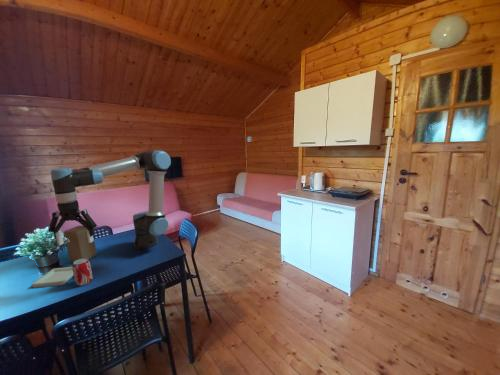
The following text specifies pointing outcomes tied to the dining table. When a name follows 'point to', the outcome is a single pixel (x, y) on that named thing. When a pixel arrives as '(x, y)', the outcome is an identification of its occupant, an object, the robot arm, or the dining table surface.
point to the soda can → (82, 271)
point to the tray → (54, 277)
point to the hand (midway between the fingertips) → (76, 243)
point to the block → (79, 244)
